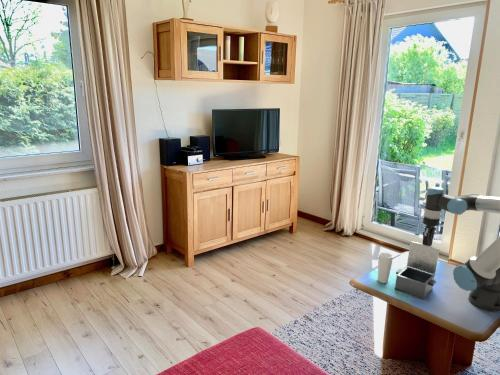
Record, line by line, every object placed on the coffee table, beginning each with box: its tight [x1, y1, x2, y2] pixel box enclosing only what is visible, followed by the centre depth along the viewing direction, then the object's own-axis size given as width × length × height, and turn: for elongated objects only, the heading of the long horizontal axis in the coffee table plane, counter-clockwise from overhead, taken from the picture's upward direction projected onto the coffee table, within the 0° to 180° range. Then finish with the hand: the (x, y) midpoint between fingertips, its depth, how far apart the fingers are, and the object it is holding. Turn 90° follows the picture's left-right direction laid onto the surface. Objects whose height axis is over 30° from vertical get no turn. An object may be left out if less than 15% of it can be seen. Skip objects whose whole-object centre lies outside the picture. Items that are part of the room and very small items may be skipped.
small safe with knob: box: [394, 266, 437, 301], centre depth 186 cm, size 18×14×8 cm
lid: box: [406, 240, 440, 275], centre depth 190 cm, size 14×14×3 cm
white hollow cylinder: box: [377, 252, 394, 284], centre depth 193 cm, size 7×7×15 cm
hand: (424, 259), depth 193 cm, fingers closed
